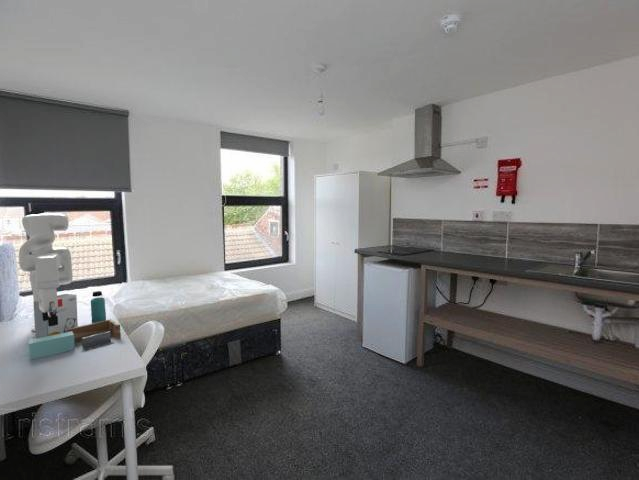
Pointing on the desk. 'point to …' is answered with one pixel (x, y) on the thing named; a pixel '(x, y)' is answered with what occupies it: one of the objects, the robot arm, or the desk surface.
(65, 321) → the hard drive box
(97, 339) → the grey bookend
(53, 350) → the mint green box
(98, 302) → the beverage bottle
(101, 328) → the walnut rack
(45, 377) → the desk surface
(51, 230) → the robot arm
